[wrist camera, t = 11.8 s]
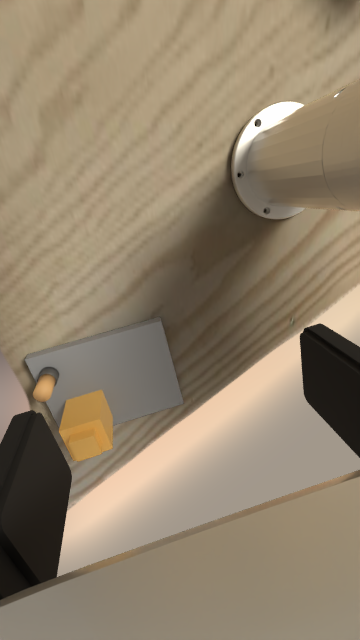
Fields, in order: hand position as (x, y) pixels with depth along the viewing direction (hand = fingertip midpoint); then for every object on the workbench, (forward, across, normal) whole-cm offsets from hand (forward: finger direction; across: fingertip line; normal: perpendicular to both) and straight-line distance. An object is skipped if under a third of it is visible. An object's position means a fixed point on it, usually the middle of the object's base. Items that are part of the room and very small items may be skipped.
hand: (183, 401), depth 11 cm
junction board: (+30, +8, +16) cm, 35 cm away
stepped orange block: (+29, +12, +19) cm, 36 cm away
